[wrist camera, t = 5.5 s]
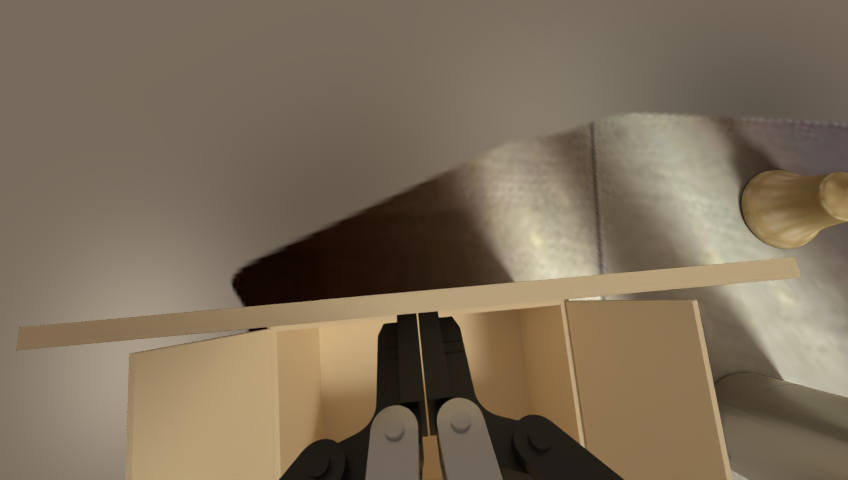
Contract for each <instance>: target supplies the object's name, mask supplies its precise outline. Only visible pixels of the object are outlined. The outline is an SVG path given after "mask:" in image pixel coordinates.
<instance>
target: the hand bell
mask: <svg viewBox="0 0 848 480" xmlns="http://www.w3.org/2000/svg"><path fill="white" fill-rule="evenodd" d="M741 207H742V213H743V216H744V220H745V222H746V224H747V226H748V227H749V229H750V230H751V231H752V233H753V234H754V235H755V236H756V237H758V238H759V239H760V240H761V241H763V242H764V243H766V244H768V245H770V246H773V247H776V248H781V249H792V248H797V247H800V246H802V245H804V244H806V243H807V242H809V241H810V240H812V239H813V238H814V237H815V236H816V235H817V234H818V232H819V230H821V229H824V228H826V227H829V226H832V225H836V224H840V223H844V222H848V173H844V172H835V173H829V174H823V175H816V176H799V175H797V174H795V173H792V172H788V171H783V170H770V171H765V172H762V173H760V174H758V175H756V176H755V177H753V178H752V179H751V180H750V181H749V182H748V184H747V185H746V187H745V189H744V191H743V194H742V200H741Z"/></svg>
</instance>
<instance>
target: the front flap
mask: <svg viewBox="0 0 848 480" xmlns="http://www.w3.org/2000/svg"><path fill="white" fill-rule="evenodd" d="M799 277H801V276H800V272H799V269H798V265H797V262H796V258H795V257H791V258H780V259H769V260H758V261H747V262H736V263H725V264H714V265H703V266H692V267H681V268H670V269H659V270H648V271H637V272H626V273H615V274H604V275H593V276H582V277H571V278H559V279H548V280H537V281H526V282H512V283H501V284H490V285H479V286H468V287H457V288H446V289H435V290H423V291H412V292H401V293H390V294H379V295H368V296H357V297H346V298H335V299H324V300H316V301H305V302H294V303H283V304H272V305H261V306H250V307H240V308H228V309H218V310H208V311H207V310H206V311H195V312H184V313H173V314H162V315H151V316H140V317H129V318H118V319H107V320H96V321H85V322H74V323H62V324H52V325H40V326H30V327H19V332H18V340H17V348H16V350H27V349H37V348H48V347H59V346H69V345H81V344H91V343H102V342H112V341H123V340H133V339H145V338H154V337H166V336H177V335H188V334H199V333H209V332H220V331H231V330H241V329H252V328H263V327H274V326H284V325H295V324H306V323H317V322H327V321H338V320H349V319H359V318H370V317H381V316H392V315H402V314H413V313H424V312H435V311H445V310H456V309H467V308H477V307H488V306H499V305H510V304H520V303H531V302H542V301H553V300H563V299H574V298H585V297H596V296H606V295H617V294H628V293H638V292H649V291H660V290H671V289H681V288H692V287H703V286H714V285H724V284H735V283H746V282H756V281H767V280H778V279H789V278H799Z"/></svg>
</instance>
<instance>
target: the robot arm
mask: <svg viewBox="0 0 848 480" xmlns="http://www.w3.org/2000/svg"><path fill="white" fill-rule="evenodd" d="M418 319H419V330H420V341H421V351H422V360H423V370H424V380H425V389H426V399H427V409H428V418H429V428H430V436H434V435H436V436H437V445H438V453H439V465H440V470H441V475H442V480H624V479H623V478H622V477H620V476H619V475H618V474H617V473H615V472H614V471H613V470H612V469H610V468H609V467H608V466H607V465H605V464H604V463H603V462H602V461H600V460H599V459H598V458H597V457H595V456H594V455H593V454H592V453H590V452H589V451H588V450H587V449H585V448H584V447H583V446H582V445H580V444H579V443H578V442H577V441H575V440H574V439H573V438H572V437H570V436H569V435H568V434H567V433H565V432H564V431H563V430H562V429H560V428H559V427H558V426H557V425H555V424H554V423H553V422H552V421H550V420H549V419H547V418H545V417H543V416H540V415H527V416H524V417H522V418H521V419H520V420H515V419H510V418H506V417H502V416H498V415H495V414H493V413H491V412H489V411H488V410H486V409H485V408H484V407H483V406H482V405H481V404H480V402H479V401H478V399H477V397H476V395H475V391H474V387H473V382H472V378H471V374H470V369H469V365H468V360H467V356H466V353H465V347H464V343H463V338H462V334H461V330H460V326H459V325H458V324H457V322H456V321H455V320H454V319H453V317H452V316H450V317H440V318H439V316H438V311H435V312H424V313H418ZM377 350H378V352H377V394H376V409H375V413H374V415H373V417H372V419H371V421H370V422H369V424H368V425H367V426H366V427H365V428H364V429H363V430H361V431H360V432H358V433H356V434H355V435H353V436H351V437H349V438H346V439H344V440H342V441H340V442H338V443H337V442H336V441H334V440H331V439H321V440H317V441H315V442H313V443H311V444H310V445H308V446H307V447H306V448H305V449H304V450H303V451H302V452H301V453H300V455H299V456H298V457H297V458H296V460H295V461H294V462H293V463H292V464H291V466H290V467H289V468H288V469H287V470H286V472H285V473H284V474H283V475H282V476H281V478H280V479H279V480H423V465H424V450H423V439H422V437H427V436H428V428H427V417H426V406H425V395H424V385H423V375H422V365H421V355H420V345H419V334H418V324H417V314H416V313H413V314H402V315H397V322H395V323H385V324H383V326H382V328H381V330H380V332H379V334H378V348H377ZM714 388H715V393H716V398H717V403H718V408H719V413H720V418H721V424H722V429H723V434H724V439H725V444H726V449H727V454H728V459H729V464H730V469H732V470H733V471H735V472H737V473H738V474H740V475H742V476H743V477H745V478H747V479H748V480H848V398H847V397H843V396H839V395H835V394H831V393H828V392H824V391H820V390H816V389H812V388H808V387H805V386H801V385H798V384H794V383H790V382H786V381H782V380H778V379H774V378H771V377H767V376H763V375H759V374H755V373H748V372H742V373H734V374H731V375H728V376H726V377H724V378H723V379H721V380H720V381H718V382H717V383H716V384H715V385H714Z"/></svg>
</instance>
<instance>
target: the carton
mask: <svg viewBox="0 0 848 480" xmlns="http://www.w3.org/2000/svg"><path fill="white" fill-rule="evenodd" d="M416 314H417V324H418V334H419V345H420V355H421V365H422V375H423V385H424V395H425V406H426V417H427V428H428V436H427V437H422V439H423V450H424V465H423V480H442V475H441V470H440V465H439V453H438V445H437V436H436V435H434V436H430V428H429V418H428V409H427V399H426V389H425V380H424V370H423V360H422V351H421V341H420V330H419V319H418V313H416ZM438 316H439V318H440V317H450V316H452V317H453V319H454V320H455V321H456V322H457V324H458V325H459V326H460V330H461V334H462V338H463V343H464V347H465V353H466V356H467V360H468V365H469V369H470V374H471V378H472V382H473V387H474V391H475V395H476V397H477V399H478V401H479V402H480V404H481V405H482V406H483V407H484V408H485V409H486V410H488V411H489V412H491V413H493V414H495V415H498V416H502V417H506V418H510V419H515V420H520V419H521V418H522V417H524V416H527V415H540V416H543V417H545V418H547V419H549V420H550V421H552V422H553V423H554V424H555V425H557V426H558V427H559V428H560V429H562V430H563V431H564V432H565V433H567V434H568V435H569V436H570V437H572V438H573V439H574V440H575V441H577V442H578V443H579V444H580V445H582V446H583V447H584V448H585V449H587V450H588V451H589V452H590V453H592V454H593V455H594V456H595V457H597V458H598V459H599V460H600V461H602V462H603V463H604V464H605V465H607V466H608V467H609V468H610V469H612V470H613V471H614V472H615V473H617V474H618V475H619V476H620V477H622V478H623V479H624V480H733V479H732V474H731V469H730V464H729V459H728V454H727V449H726V444H725V439H724V434H723V429H722V424H721V418H720V413H719V408H718V403H717V398H716V393H715V388H714V383H713V378H712V373H711V368H710V363H709V358H708V352H707V347H706V342H705V337H704V332H703V327H702V322H701V317H700V312H699V307H698V302H697V300H587V301H569V299H563V300H553V301H542V302H531V303H520V304H510V305H499V306H488V307H477V308H467V309H456V310H445V311H438ZM395 322H397V315H392V316H381V317H370V318H359V319H349V320H338V321H327V322H317V323H306V324H295V325H284V326H274V327H267V329H263V330H258V331H252V332H247V333H241V334H235V335H230V336H224V337H220V338H213V339H208V340H202V341H197V342H192V343H185V344H180V345H174V346H169V347H163V348H158V349H153V350H147V351H141V352H135V353H130V354H129V378H128V379H129V380H128V412H127V414H128V415H127V446H126V480H279V479H280V478H281V476H282V475H283V474H284V473H285V472H286V470H287V469H288V468H289V467H290V466H291V464H292V463H293V462H294V461H295V460H296V458H297V457H298V456H299V455H300V453H301V452H302V451H303V450H304V449H305V448H306V447H307V446H308V445H310V444H311V443H313V442H315V441H317V440H321V439H331V440H334V441H336V442H337V443H338V442H340V441H342V440H344V439H346V438H349V437H351V436H353V435H355V434H356V433H358V432H360V431H361V430H363V429H364V428H365V427H366V426H367V425H368V424H369V422H370V421H371V419H372V417H373V415H374V413H375V409H376V394H377V352H378V350H377V348H378V334H379V332H380V330H381V328H382V326H383V324H385V323H395Z"/></svg>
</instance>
